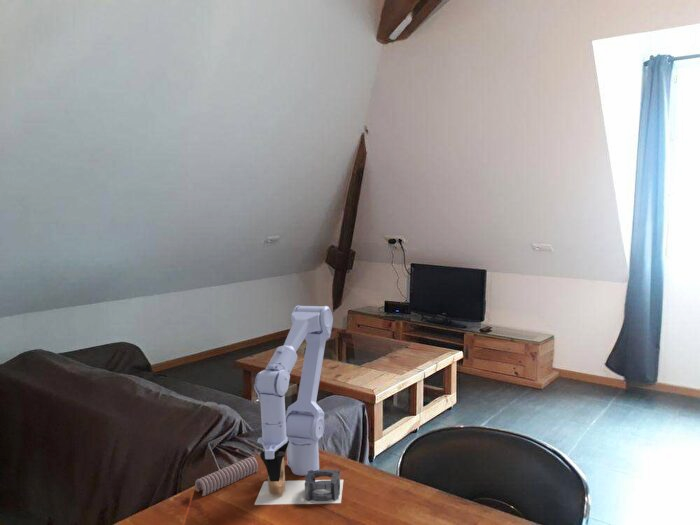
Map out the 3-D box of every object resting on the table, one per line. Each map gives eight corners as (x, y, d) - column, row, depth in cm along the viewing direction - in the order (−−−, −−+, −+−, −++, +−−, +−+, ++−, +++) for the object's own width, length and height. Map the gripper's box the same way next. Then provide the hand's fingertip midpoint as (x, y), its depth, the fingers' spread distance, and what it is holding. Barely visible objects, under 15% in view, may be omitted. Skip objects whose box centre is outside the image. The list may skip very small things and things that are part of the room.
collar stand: (304, 501, 130) (303, 484, 130) (308, 485, 138) (307, 469, 138) (338, 500, 130) (338, 484, 129) (340, 485, 138) (340, 469, 137)
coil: (203, 484, 134) (261, 459, 148) (191, 477, 137) (249, 453, 151) (203, 502, 135) (261, 475, 148) (191, 495, 138) (249, 469, 151)
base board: (254, 508, 130) (254, 504, 129) (264, 485, 142) (264, 481, 141) (341, 507, 129) (340, 502, 129) (343, 483, 141) (343, 479, 141)
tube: (285, 485, 137) (283, 449, 136) (285, 493, 133) (283, 456, 132) (268, 487, 136) (266, 451, 135) (268, 495, 132) (266, 457, 131)
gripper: (262, 410, 141) (265, 463, 141) (250, 432, 126) (253, 491, 127) (290, 410, 140) (293, 463, 141) (281, 431, 126) (284, 490, 127)
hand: (276, 476), depth 134 cm, fingers closed on tube, 4 cm apart
